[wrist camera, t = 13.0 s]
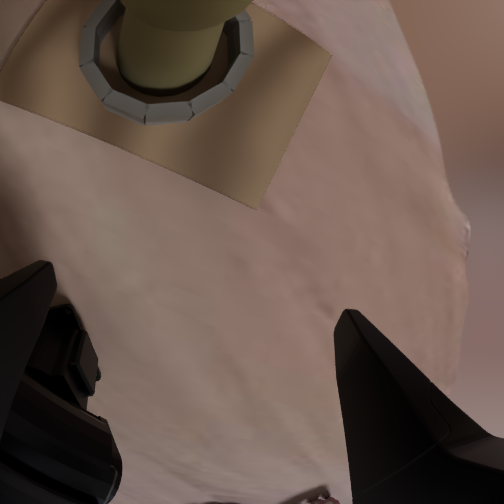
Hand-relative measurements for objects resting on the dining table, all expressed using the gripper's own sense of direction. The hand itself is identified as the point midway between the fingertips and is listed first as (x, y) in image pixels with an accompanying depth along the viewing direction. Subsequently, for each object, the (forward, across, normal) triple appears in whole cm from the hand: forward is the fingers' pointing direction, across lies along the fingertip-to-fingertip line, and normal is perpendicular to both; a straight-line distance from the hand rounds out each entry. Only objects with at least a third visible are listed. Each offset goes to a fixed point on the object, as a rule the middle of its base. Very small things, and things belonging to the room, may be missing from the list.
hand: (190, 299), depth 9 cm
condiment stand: (+14, +5, -7) cm, 16 cm away
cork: (+13, +5, -7) cm, 15 cm away
